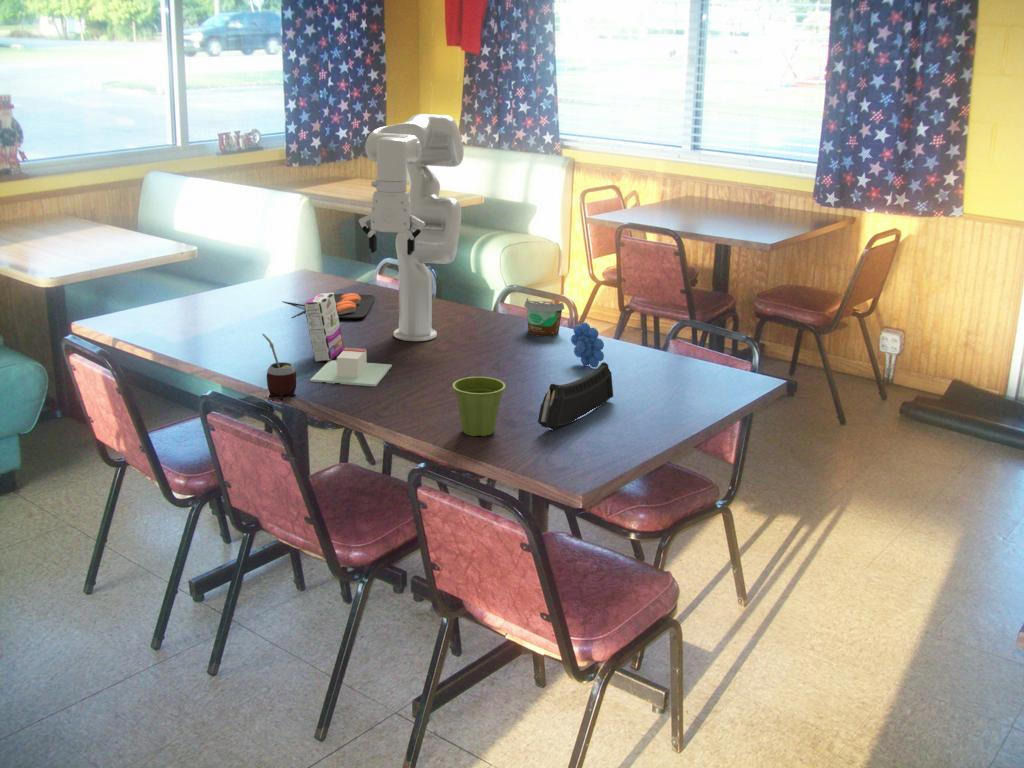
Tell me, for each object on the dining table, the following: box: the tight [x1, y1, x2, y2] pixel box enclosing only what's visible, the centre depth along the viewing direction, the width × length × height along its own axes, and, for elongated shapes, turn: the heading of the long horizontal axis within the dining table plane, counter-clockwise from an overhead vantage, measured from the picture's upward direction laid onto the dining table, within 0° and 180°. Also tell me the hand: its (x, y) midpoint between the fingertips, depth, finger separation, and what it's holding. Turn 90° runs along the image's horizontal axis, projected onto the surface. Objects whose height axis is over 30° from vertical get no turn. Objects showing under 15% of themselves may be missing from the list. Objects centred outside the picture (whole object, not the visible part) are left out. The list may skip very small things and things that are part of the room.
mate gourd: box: [261, 333, 297, 402], centre depth 263 cm, size 8×8×15 cm
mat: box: [309, 359, 393, 387], centre depth 284 cm, size 17×17×1 cm
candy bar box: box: [303, 292, 345, 362], centre depth 295 cm, size 11×5×16 cm, turn 169°
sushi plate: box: [281, 292, 376, 320], centre depth 346 cm, size 29×30×4 cm
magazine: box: [537, 362, 614, 429], centre depth 258 cm, size 17×3×30 cm
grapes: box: [570, 321, 605, 368], centre depth 295 cm, size 12×7×12 cm, turn 44°
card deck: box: [336, 347, 368, 378], centre depth 283 cm, size 6×8×5 cm, turn 172°
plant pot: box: [452, 376, 506, 437], centre depth 245 cm, size 12×12×11 cm
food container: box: [523, 297, 565, 337], centre depth 324 cm, size 12×6×10 cm, turn 68°
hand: (391, 252), depth 284 cm, fingers open, 9 cm apart
